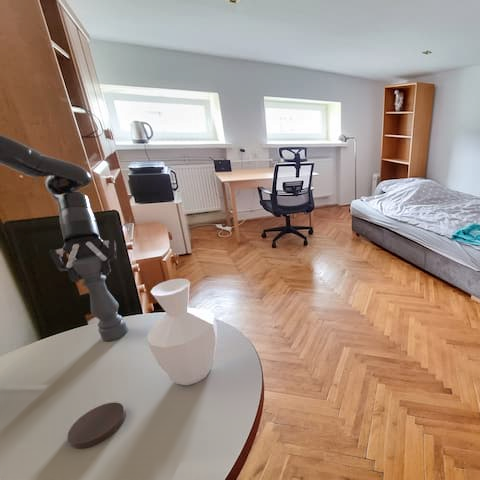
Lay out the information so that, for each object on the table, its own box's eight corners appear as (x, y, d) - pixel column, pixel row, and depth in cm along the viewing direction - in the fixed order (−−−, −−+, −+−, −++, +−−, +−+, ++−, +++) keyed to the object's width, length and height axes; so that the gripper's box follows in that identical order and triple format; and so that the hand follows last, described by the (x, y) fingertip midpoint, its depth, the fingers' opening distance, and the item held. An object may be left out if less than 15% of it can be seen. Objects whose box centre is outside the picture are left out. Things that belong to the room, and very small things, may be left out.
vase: (212, 392, 67) (187, 303, 58) (149, 397, 66) (114, 306, 57) (232, 349, 81) (215, 270, 71) (180, 352, 80) (156, 273, 71)
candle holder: (117, 341, 84) (86, 265, 75) (96, 341, 84) (63, 265, 75) (133, 327, 90) (106, 255, 81) (113, 327, 90) (85, 255, 81)
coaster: (57, 451, 55) (54, 446, 55) (92, 409, 64) (89, 404, 63) (107, 445, 56) (105, 440, 56) (135, 404, 65) (133, 400, 64)
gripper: (114, 227, 90) (127, 275, 85) (49, 237, 81) (60, 291, 77) (108, 214, 84) (122, 265, 80) (38, 224, 75) (49, 281, 71)
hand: (91, 277), depth 78 cm, fingers closed on candle holder, 5 cm apart
